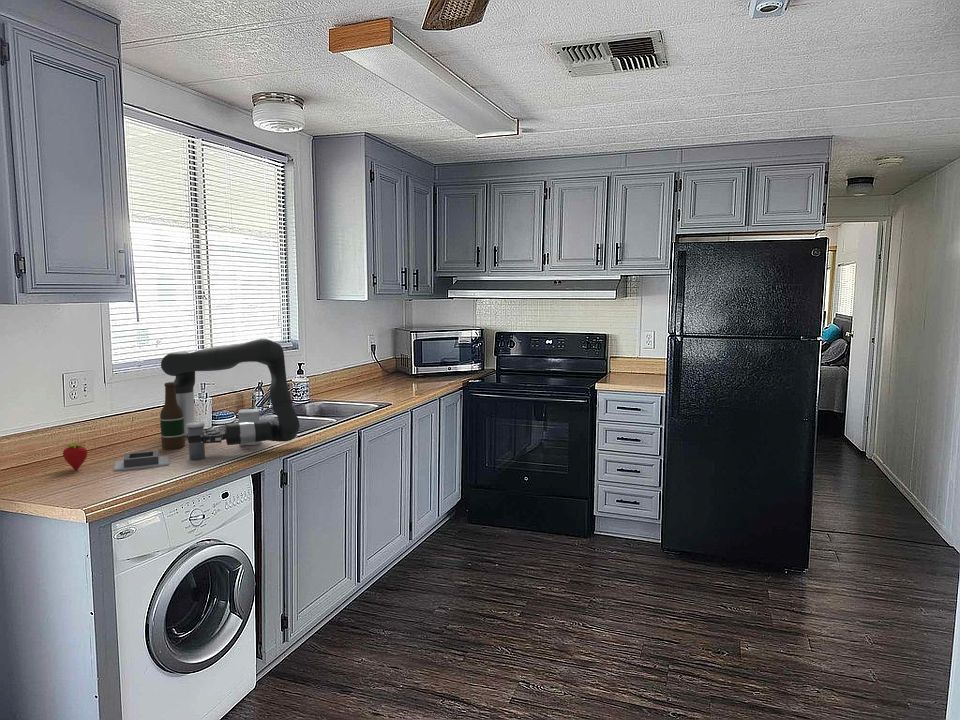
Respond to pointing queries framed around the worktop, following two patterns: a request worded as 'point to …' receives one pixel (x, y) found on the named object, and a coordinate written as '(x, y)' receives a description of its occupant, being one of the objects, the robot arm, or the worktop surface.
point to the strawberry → (75, 455)
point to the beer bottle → (171, 420)
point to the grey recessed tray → (141, 461)
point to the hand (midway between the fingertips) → (187, 438)
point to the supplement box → (249, 419)
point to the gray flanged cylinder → (196, 448)
